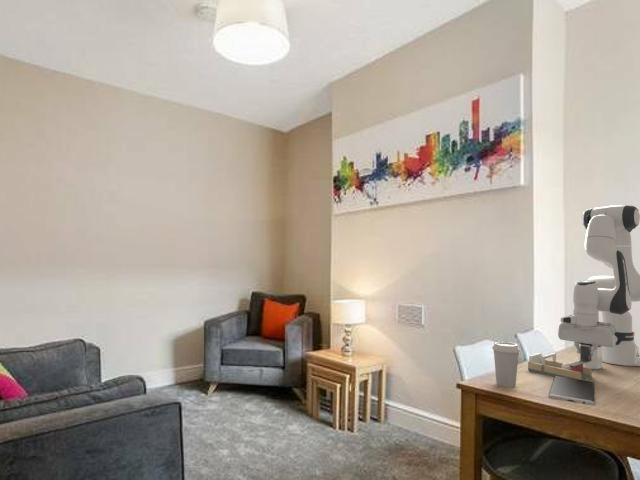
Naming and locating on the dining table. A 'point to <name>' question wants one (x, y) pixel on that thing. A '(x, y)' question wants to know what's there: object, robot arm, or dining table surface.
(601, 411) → the dining table surface
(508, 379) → the coffee cup
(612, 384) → the dining table surface
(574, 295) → the robot arm
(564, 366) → the ball
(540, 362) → the pitch
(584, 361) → the kicker rod
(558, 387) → the smartphone
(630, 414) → the dining table surface
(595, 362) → the jar
